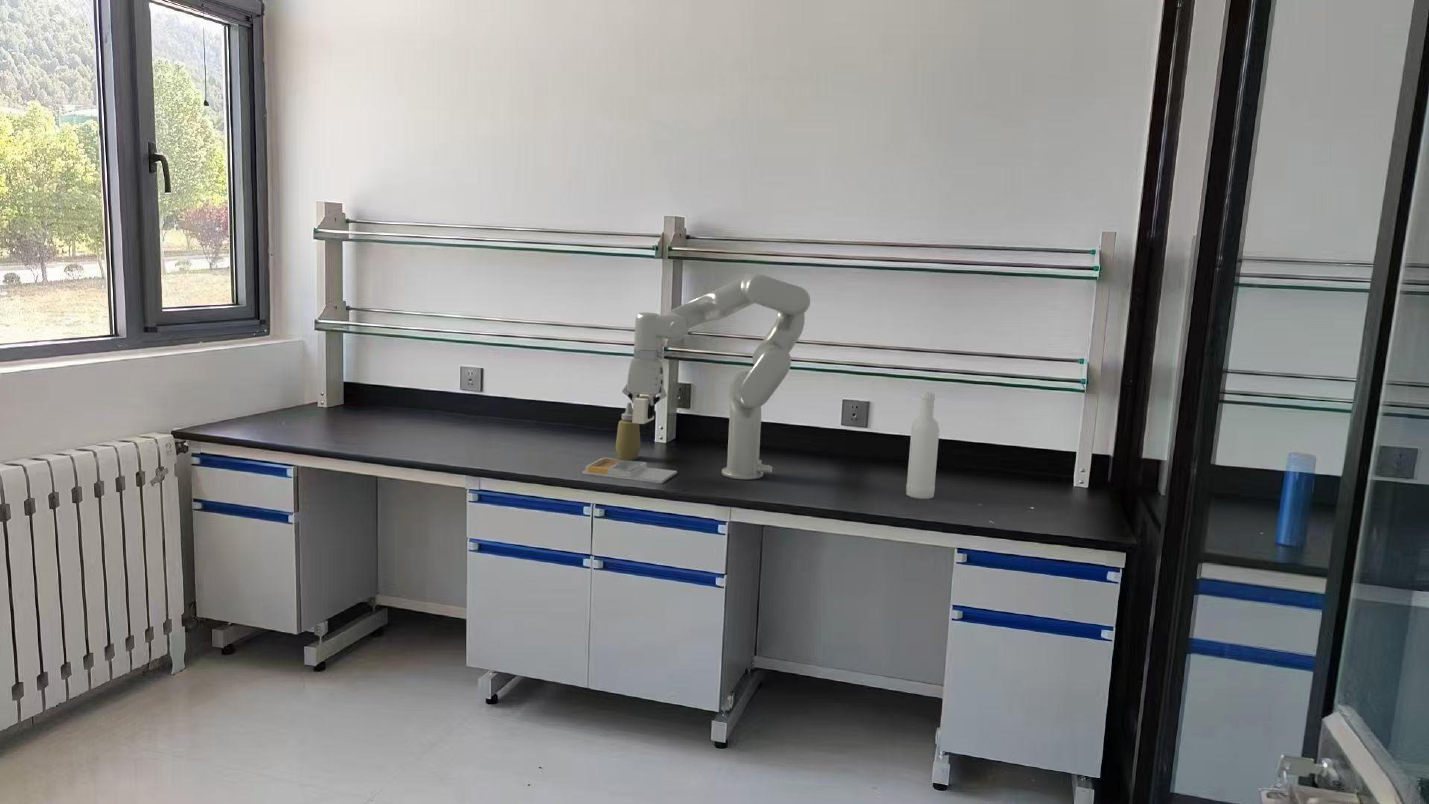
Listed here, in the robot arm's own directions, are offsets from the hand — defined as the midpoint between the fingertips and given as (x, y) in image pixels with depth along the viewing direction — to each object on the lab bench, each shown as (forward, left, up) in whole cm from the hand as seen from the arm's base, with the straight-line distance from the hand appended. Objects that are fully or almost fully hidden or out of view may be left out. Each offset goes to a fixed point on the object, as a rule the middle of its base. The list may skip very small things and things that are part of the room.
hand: (643, 416), depth 281 cm
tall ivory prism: (0, 0, -1) cm, 1 cm away
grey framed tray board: (+4, 0, -18) cm, 18 cm away
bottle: (-80, -14, -18) cm, 83 cm away
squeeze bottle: (+12, -18, -18) cm, 28 cm away
